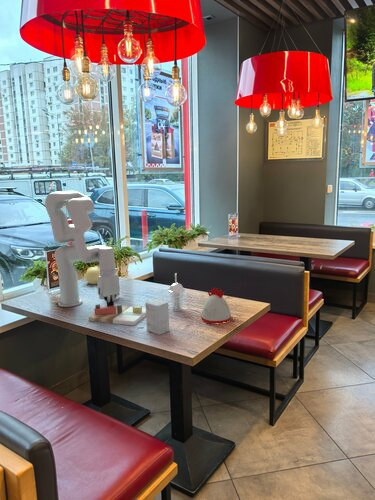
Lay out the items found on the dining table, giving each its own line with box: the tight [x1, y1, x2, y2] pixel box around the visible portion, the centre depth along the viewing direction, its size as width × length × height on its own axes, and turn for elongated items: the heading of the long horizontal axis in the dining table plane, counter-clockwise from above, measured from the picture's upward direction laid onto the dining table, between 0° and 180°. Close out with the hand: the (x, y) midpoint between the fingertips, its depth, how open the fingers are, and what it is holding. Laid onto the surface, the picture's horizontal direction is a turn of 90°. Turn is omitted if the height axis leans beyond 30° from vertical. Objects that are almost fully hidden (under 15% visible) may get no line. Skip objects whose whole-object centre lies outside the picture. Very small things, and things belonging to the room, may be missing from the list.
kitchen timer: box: [200, 287, 232, 324], centre depth 180 cm, size 14×14×15 cm
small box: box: [145, 298, 170, 336], centre depth 168 cm, size 8×6×13 cm
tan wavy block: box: [88, 304, 130, 324], centre depth 189 cm, size 13×18×5 cm
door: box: [112, 305, 146, 326], centre depth 186 cm, size 11×18×4 cm, turn 162°
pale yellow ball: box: [85, 265, 100, 285], centre depth 249 cm, size 11×12×11 cm
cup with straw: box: [167, 272, 186, 312], centre depth 193 cm, size 8×9×20 cm
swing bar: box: [93, 303, 117, 315], centre depth 187 cm, size 10×3×4 cm, turn 95°
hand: (110, 308), depth 190 cm, fingers closed
